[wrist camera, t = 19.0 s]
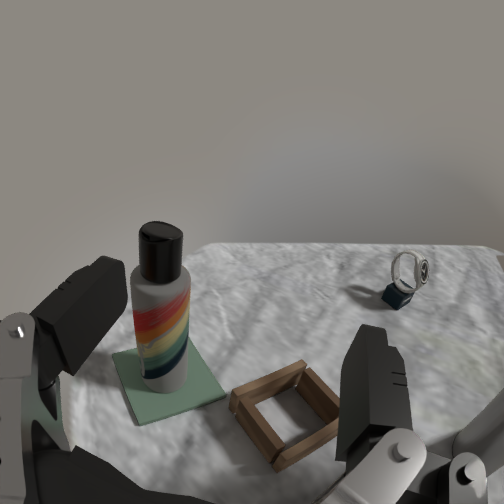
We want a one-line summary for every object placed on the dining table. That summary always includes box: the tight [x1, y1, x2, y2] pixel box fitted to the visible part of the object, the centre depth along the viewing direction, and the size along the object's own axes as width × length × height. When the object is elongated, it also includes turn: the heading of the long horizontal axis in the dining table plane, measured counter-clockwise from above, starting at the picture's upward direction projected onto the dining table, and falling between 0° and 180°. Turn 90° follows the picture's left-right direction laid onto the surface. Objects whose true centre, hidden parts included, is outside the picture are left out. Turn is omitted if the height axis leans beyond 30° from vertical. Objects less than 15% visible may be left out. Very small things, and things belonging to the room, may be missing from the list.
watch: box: [381, 250, 429, 310], centre depth 56 cm, size 6×8×11 cm
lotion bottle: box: [130, 221, 191, 393], centre depth 30 cm, size 6×6×20 cm
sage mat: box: [112, 336, 226, 426], centre depth 35 cm, size 11×11×1 cm
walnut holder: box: [229, 360, 340, 473], centre depth 32 cm, size 10×10×4 cm
